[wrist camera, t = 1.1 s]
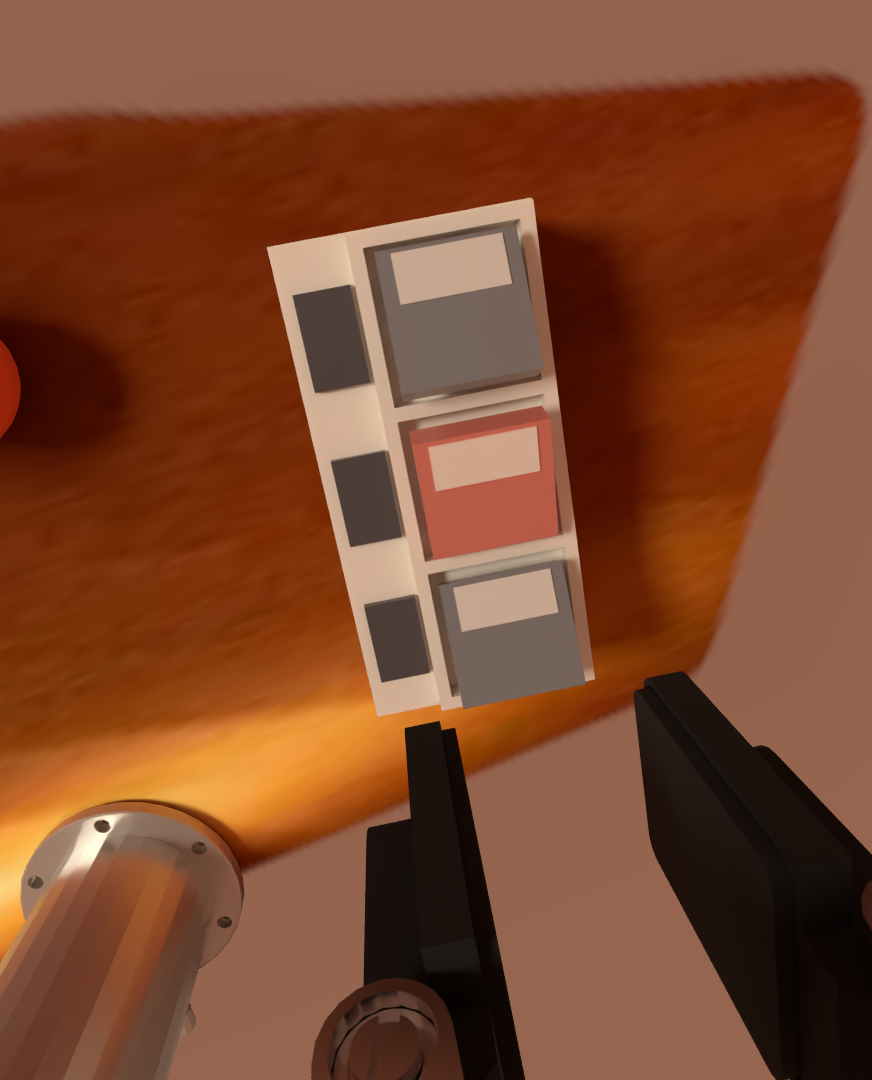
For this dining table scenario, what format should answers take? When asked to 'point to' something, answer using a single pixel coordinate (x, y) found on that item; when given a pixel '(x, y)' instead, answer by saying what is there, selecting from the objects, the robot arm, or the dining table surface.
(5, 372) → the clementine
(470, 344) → the plate
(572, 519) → the rocker switch panel
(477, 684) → the rocker
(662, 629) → the dining table surface
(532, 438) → the rocker mid
